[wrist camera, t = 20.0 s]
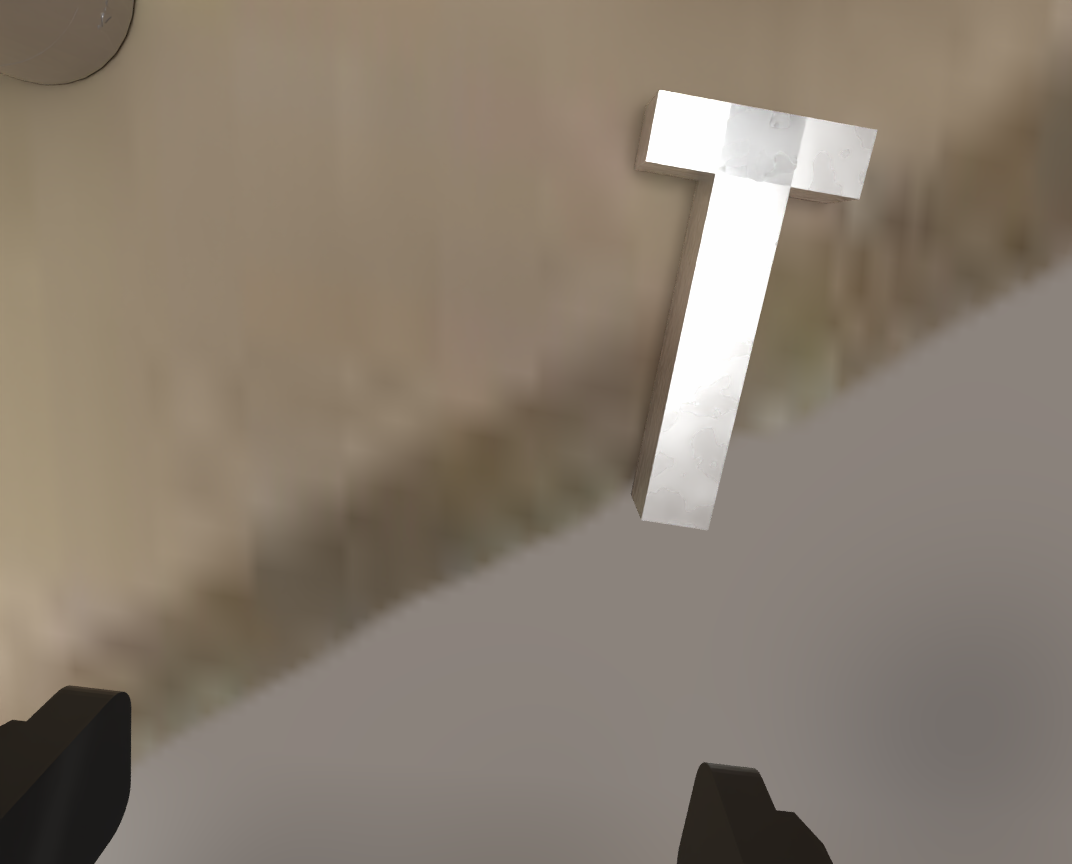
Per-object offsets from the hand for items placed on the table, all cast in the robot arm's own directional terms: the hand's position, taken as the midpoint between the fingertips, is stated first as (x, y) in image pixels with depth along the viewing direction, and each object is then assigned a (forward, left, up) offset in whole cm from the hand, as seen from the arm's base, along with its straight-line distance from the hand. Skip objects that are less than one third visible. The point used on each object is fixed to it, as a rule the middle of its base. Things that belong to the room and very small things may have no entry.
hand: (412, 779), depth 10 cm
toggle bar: (+10, +5, -30) cm, 32 cm away
